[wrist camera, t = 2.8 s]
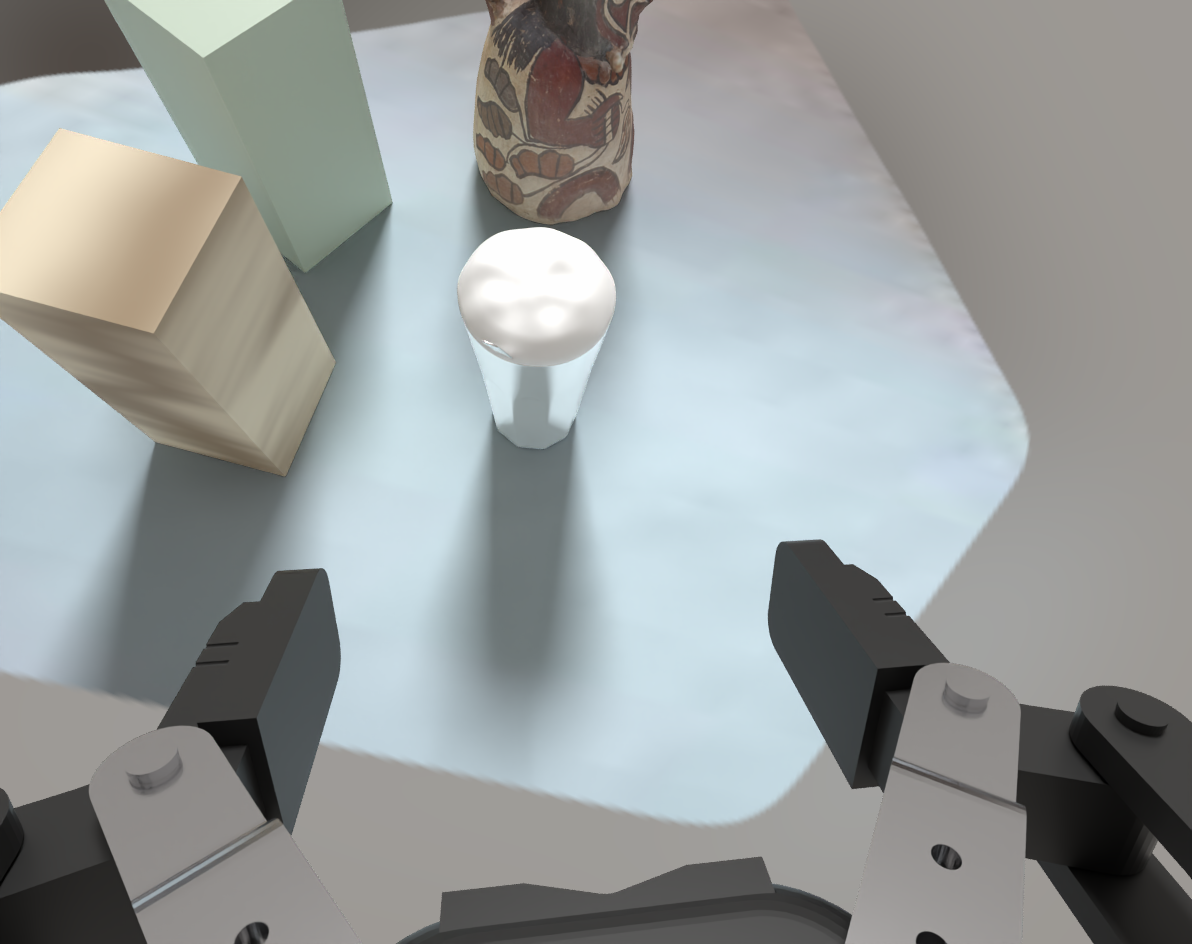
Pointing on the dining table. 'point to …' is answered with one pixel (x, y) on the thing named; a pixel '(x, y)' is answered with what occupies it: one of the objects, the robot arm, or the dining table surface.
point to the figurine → (556, 106)
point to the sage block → (269, 108)
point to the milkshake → (535, 327)
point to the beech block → (163, 299)
